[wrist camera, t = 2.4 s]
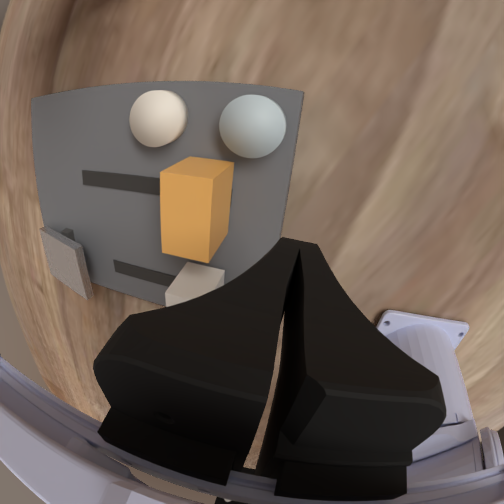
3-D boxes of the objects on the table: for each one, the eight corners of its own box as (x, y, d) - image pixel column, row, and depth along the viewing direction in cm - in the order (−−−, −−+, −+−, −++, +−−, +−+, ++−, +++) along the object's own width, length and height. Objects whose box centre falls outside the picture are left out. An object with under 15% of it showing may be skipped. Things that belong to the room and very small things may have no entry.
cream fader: (221, 318, 19) (206, 352, 17) (188, 309, 20) (170, 341, 17) (224, 270, 17) (207, 303, 15) (187, 261, 18) (164, 292, 15)
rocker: (93, 295, 20) (87, 300, 19) (57, 270, 21) (51, 274, 21) (82, 245, 17) (74, 249, 17) (46, 225, 19) (39, 229, 18)
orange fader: (227, 233, 16) (208, 263, 13) (187, 225, 16) (162, 252, 14) (234, 161, 14) (213, 179, 11) (189, 156, 14) (160, 171, 12)
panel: (265, 316, 21) (258, 341, 19) (64, 260, 23) (47, 274, 21) (304, 92, 13) (302, 90, 11) (45, 95, 15) (21, 100, 13)
